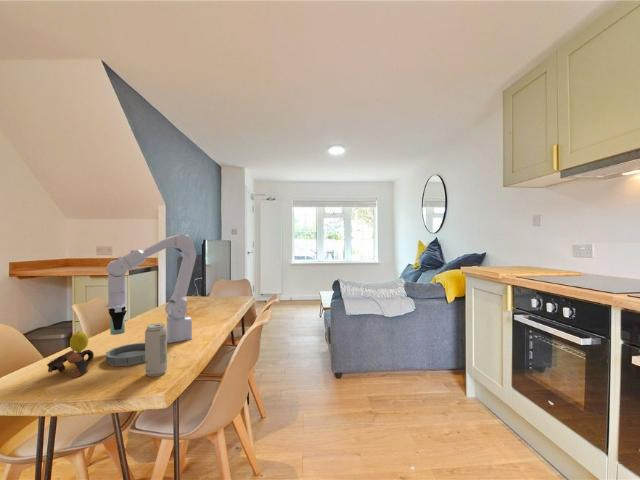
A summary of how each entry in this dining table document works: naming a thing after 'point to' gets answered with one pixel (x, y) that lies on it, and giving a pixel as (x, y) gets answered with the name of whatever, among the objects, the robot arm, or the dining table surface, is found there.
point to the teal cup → (115, 332)
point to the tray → (126, 355)
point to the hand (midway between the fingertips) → (117, 328)
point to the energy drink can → (155, 350)
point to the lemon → (79, 341)
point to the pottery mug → (72, 358)
